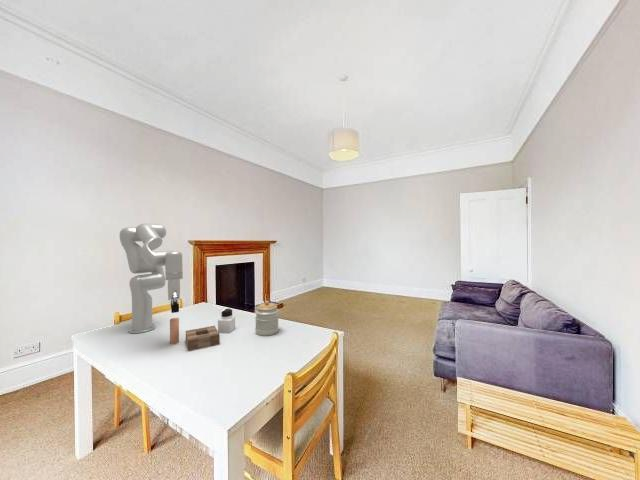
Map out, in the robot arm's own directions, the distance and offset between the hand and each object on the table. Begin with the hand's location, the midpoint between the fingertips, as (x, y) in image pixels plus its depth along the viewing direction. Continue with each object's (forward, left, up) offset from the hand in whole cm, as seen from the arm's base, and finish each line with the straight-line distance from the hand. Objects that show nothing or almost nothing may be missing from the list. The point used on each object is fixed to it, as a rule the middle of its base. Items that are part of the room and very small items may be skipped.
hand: (174, 309), depth 125 cm
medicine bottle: (-4, +26, -17) cm, 31 cm away
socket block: (+6, +12, -17) cm, 21 cm away
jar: (+11, +45, -17) cm, 49 cm away
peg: (-1, 0, -17) cm, 17 cm away
